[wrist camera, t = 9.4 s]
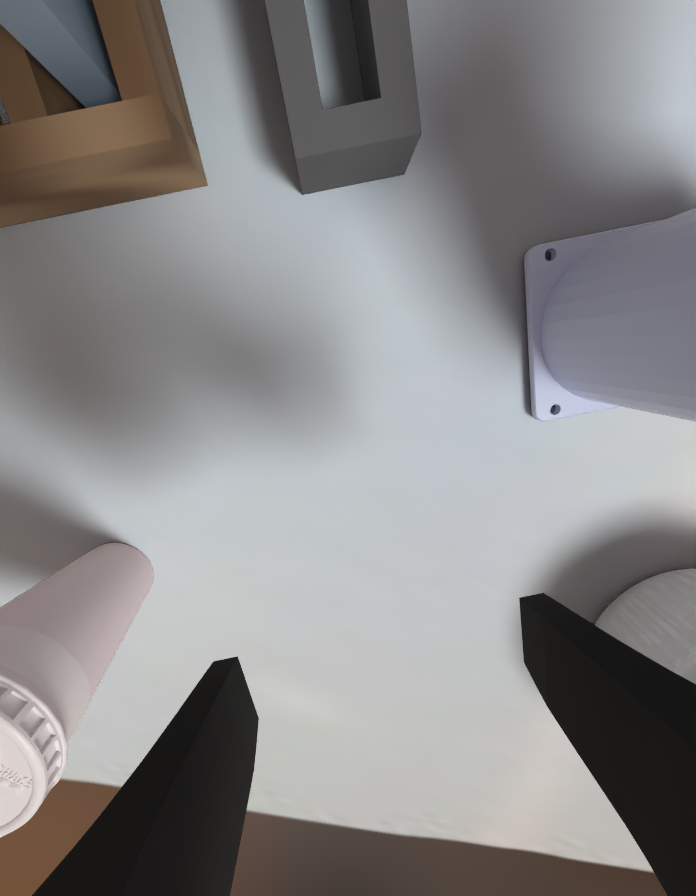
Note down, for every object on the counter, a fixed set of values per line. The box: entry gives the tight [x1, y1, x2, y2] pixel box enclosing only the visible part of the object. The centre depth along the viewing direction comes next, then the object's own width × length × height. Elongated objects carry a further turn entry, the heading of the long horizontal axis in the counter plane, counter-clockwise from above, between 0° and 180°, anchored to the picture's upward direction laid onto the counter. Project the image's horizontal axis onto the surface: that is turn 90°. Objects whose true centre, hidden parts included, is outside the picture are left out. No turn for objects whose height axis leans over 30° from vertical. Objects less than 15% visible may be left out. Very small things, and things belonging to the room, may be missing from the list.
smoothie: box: [0, 543, 154, 837], centre depth 13 cm, size 6×6×14 cm
